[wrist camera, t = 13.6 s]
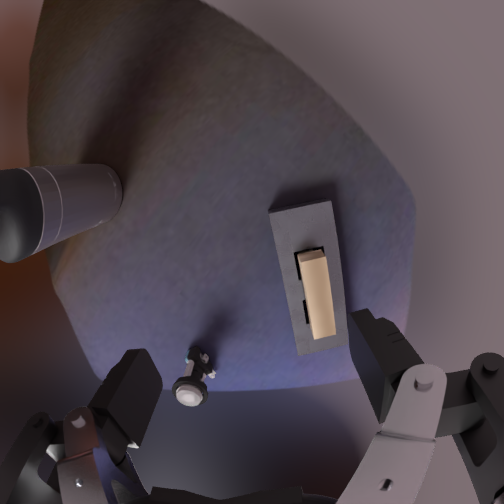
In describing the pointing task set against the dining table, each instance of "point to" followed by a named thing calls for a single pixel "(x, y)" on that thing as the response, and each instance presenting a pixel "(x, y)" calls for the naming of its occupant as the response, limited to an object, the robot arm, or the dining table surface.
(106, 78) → the dining table surface
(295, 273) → the grey block with holes
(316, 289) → the wooden peg block
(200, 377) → the push button
